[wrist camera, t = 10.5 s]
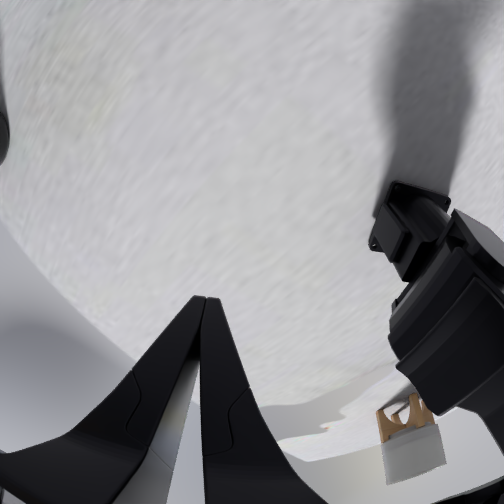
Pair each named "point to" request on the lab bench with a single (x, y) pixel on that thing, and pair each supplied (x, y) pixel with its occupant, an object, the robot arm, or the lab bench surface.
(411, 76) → the lab bench surface
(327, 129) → the lab bench surface
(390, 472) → the planter
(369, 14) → the lab bench surface
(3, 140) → the supplement bottle
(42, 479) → the robot arm
